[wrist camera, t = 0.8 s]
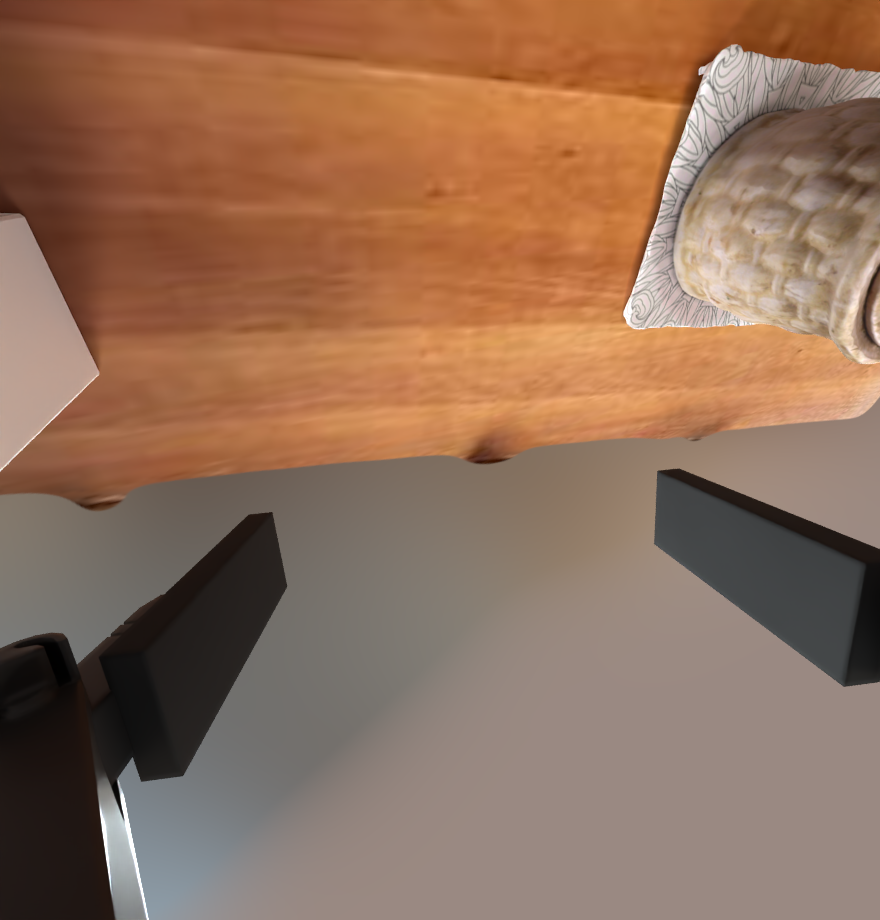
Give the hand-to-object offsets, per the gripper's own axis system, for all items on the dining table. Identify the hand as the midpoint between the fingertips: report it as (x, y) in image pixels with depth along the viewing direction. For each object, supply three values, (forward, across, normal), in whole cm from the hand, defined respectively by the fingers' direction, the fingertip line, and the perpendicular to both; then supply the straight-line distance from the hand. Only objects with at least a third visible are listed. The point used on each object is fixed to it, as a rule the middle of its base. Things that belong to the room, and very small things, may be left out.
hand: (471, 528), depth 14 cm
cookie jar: (+36, +37, +18) cm, 54 cm away
